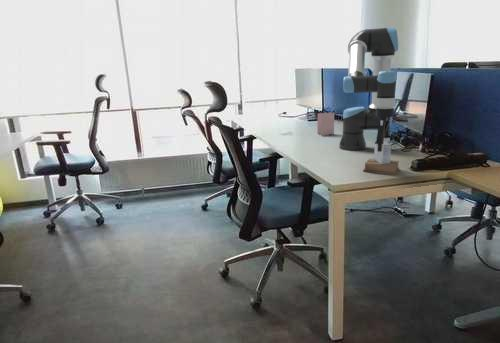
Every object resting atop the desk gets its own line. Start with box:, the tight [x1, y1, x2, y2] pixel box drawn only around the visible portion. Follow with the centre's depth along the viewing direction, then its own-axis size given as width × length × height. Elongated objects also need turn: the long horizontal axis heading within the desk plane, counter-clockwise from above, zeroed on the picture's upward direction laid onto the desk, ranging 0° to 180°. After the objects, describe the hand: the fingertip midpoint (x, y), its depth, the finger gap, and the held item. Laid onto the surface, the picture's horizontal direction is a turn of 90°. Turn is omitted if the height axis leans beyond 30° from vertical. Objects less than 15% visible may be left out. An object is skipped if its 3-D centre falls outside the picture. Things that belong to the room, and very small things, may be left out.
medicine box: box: [373, 142, 392, 164], centre depth 168 cm, size 8×4×9 cm, turn 5°
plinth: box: [362, 158, 400, 176], centre depth 170 cm, size 10×14×4 cm
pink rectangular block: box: [316, 112, 335, 137], centre depth 259 cm, size 11×7×15 cm, turn 84°
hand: (382, 155), depth 169 cm, fingers open, 13 cm apart
